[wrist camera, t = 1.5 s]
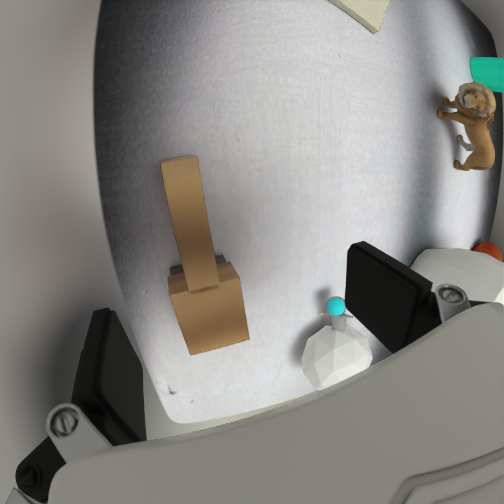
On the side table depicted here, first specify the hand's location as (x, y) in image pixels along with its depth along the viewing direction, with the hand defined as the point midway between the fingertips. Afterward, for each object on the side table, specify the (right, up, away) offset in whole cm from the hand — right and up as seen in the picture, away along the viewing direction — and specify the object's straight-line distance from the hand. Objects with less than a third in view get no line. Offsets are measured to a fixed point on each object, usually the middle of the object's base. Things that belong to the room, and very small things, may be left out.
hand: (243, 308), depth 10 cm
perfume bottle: (+8, -7, +21) cm, 23 cm away
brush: (-4, +3, +12) cm, 13 cm away
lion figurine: (+26, +18, +16) cm, 35 cm away
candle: (+37, +31, +14) cm, 50 cm away
